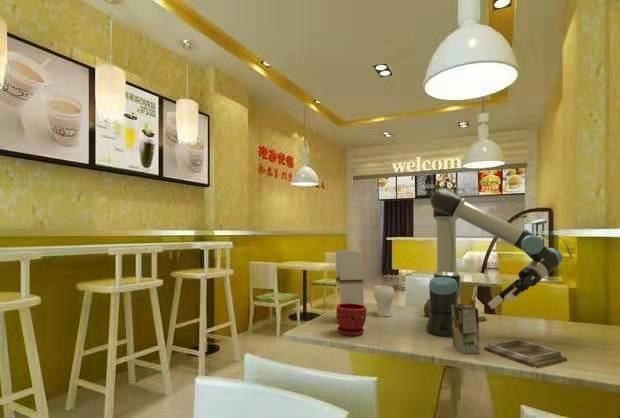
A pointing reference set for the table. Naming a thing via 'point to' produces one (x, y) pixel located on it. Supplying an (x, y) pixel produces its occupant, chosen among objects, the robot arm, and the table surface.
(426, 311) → the vase
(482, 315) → the decorated donut
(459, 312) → the coffee box
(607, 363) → the table surface
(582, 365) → the table surface
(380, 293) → the cup
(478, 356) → the table surface
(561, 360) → the brown flat tray
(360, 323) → the plant pot
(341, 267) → the white banded column
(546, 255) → the robot arm
